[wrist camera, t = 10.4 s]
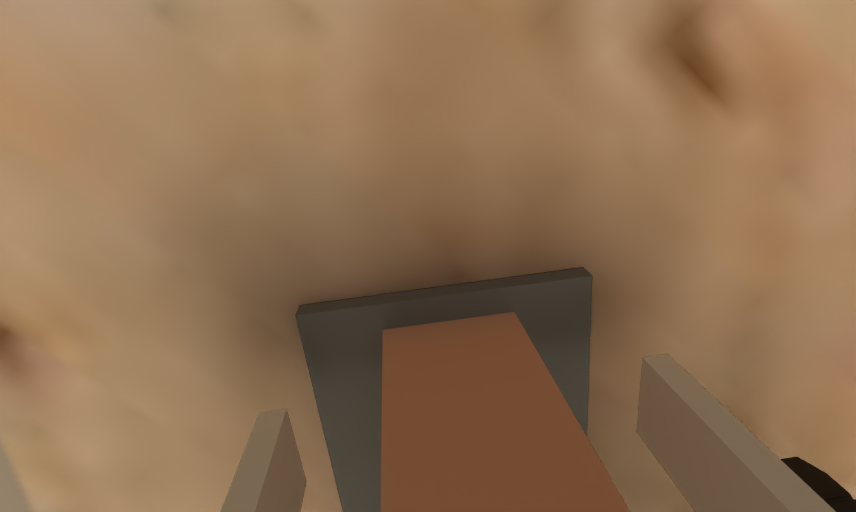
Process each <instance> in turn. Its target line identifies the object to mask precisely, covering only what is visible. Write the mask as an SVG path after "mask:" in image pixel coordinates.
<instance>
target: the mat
mask: <svg viewBox="0 0 856 512" xmlns="http://www.w3.org/2000/svg"><path fill="white" fill-rule="evenodd" d="M591 301H592V275H591V274H590V273H589V272H588V271H587V270H586V269H584V268H576V269H569V270H561V271H554V272H546V273H539V274H532V275H524V276H517V277H509V278H502V279H494V280H487V281H479V282H472V283H464V284H457V285H449V286H442V287H434V288H427V289H419V290H412V291H404V292H397V293H389V294H382V295H374V296H367V297H360V298H352V299H345V300H337V301H330V302H322V303H315V304H307V305H300V306H299V308H298V311H297V313H296V320H297V324H298V328H299V332H300V336H301V340H302V344H303V349H304V353H305V357H306V361H307V365H308V369H309V373H310V378H311V382H312V386H313V390H314V394H315V398H316V402H317V406H318V411H319V415H320V419H321V423H322V427H323V431H324V435H325V440H326V444H327V448H328V452H329V456H330V460H331V464H332V469H333V473H334V477H335V481H336V485H337V489H338V493H339V497H340V502H341V506H342V510H343V512H381V431H382V345H383V330H385V329H393V328H400V327H407V326H414V325H422V324H429V323H436V322H443V321H451V320H458V319H465V318H472V317H480V316H487V315H494V314H502V313H509V312H515V314H516V315H517V317H518V319H519V321H520V322H521V324H522V326H523V328H524V329H525V331H526V333H527V334H528V336H529V338H530V340H531V341H532V343H533V345H534V347H535V348H536V350H537V352H538V353H539V355H540V357H541V359H542V360H543V362H544V364H545V366H546V367H547V369H548V371H549V372H550V374H551V376H552V378H553V379H554V381H555V383H556V385H557V386H558V388H559V390H560V392H561V393H562V395H563V397H564V398H565V400H566V402H567V404H568V405H569V407H570V409H571V411H572V412H573V414H574V416H575V417H576V419H577V421H578V423H579V424H580V426H581V428H582V430H583V431H584V433H585V435H586V437H587V420H588V390H589V360H590V331H591Z"/></svg>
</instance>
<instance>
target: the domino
mask: <svg viewBox="0 0 856 512" xmlns="http://www.w3.org/2000/svg"><path fill="white" fill-rule="evenodd" d="M381 512H630V511H629V509H628V507H627V506H626V504H625V502H624V501H623V499H622V497H621V495H620V494H619V492H618V490H617V488H616V487H615V485H614V483H613V482H612V480H611V478H610V476H609V475H608V473H607V471H606V469H605V468H604V466H603V464H602V462H601V461H600V459H599V457H598V456H597V454H596V452H595V450H594V449H593V447H592V445H591V443H590V442H589V440H588V438H587V437H586V435H585V433H584V431H583V430H582V428H581V426H580V424H579V423H578V421H577V419H576V417H575V416H574V414H573V412H572V411H571V409H570V407H569V405H568V404H567V402H566V400H565V398H564V397H563V395H562V393H561V392H560V390H559V388H558V386H557V385H556V383H555V381H554V379H553V378H552V376H551V374H550V372H549V371H548V369H547V367H546V366H545V364H544V362H543V360H542V359H541V357H540V355H539V353H538V352H537V350H536V348H535V347H534V345H533V343H532V341H531V340H530V338H529V336H528V334H527V333H526V331H525V329H524V328H523V326H522V324H521V322H520V321H519V319H518V317H517V315H516V314H515V312H509V313H502V314H494V315H487V316H480V317H472V318H465V319H458V320H451V321H443V322H436V323H429V324H422V325H414V326H407V327H400V328H393V329H385V330H383V345H382V431H381Z"/></svg>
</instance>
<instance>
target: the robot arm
mask: <svg viewBox="0 0 856 512" xmlns="http://www.w3.org/2000/svg"><path fill="white" fill-rule="evenodd" d="M636 432H637V433H638V434H639V436H640V437H641V438H642V440H643V441H644V442H645V444H646V445H647V447H648V448H649V449H650V451H651V452H652V453H653V455H654V456H655V458H656V459H657V460H658V462H659V463H660V464H661V466H662V467H663V468H664V470H665V471H666V473H667V474H668V475H669V477H670V478H671V479H672V481H673V482H674V483H675V485H676V486H677V488H678V489H679V490H680V492H681V493H682V494H683V496H684V497H685V498H686V500H687V501H688V503H689V504H690V505H691V507H692V508H693V509H694V511H695V512H856V500H854V499H853V498H852V497H851V494H849V493H848V492H847V491H846V490H845V489H844V488H843V487H841V486H840V485H839V484H838V483H837V482H836V481H835V480H833V479H832V478H831V477H830V476H829V475H828V474H827V473H825V472H823V471H821V470H820V469H818V468H816V467H814V466H813V465H811V464H809V463H807V462H806V461H804V460H802V459H800V458H799V457H792V458H786V459H779V458H778V457H777V456H776V455H775V454H774V453H773V452H772V451H771V450H770V449H769V448H768V447H767V446H765V445H764V444H763V443H762V442H761V441H760V440H759V439H758V438H757V437H756V436H755V435H754V434H753V433H752V432H751V431H750V430H748V429H747V428H746V427H745V426H744V425H743V424H742V423H741V422H740V421H739V420H738V419H737V418H736V417H735V416H734V415H732V414H731V413H730V412H729V411H728V410H727V409H726V408H725V407H724V406H723V405H722V404H721V403H720V402H719V401H718V400H717V399H715V398H714V397H713V396H712V395H711V394H710V393H709V392H708V391H707V390H706V389H705V388H704V387H703V386H702V385H701V384H699V383H698V382H697V381H696V380H695V379H694V378H693V377H692V376H691V375H690V374H689V373H688V372H687V371H686V370H685V369H683V368H682V367H681V366H680V365H679V364H678V363H677V362H676V361H675V360H674V359H673V358H672V357H671V356H670V355H669V354H663V355H656V356H649V357H643V358H642V370H641V382H640V393H639V405H638V417H637V429H636ZM305 486H306V478H305V474H304V471H303V467H302V463H301V460H300V456H299V452H298V449H297V445H296V441H295V438H294V434H293V430H292V427H291V423H290V419H289V416H288V412H287V409H282V410H275V411H268V412H261V413H259V415H258V417H257V420H256V422H255V425H254V427H253V430H252V432H251V435H250V438H249V440H248V443H247V445H246V448H245V450H244V453H243V456H242V458H241V461H240V463H239V466H238V468H237V471H236V474H235V476H234V479H233V481H232V484H231V486H230V489H229V491H228V494H227V497H226V499H225V502H224V504H223V507H222V509H221V512H300V511H301V506H302V501H303V496H304V491H305Z"/></svg>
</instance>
